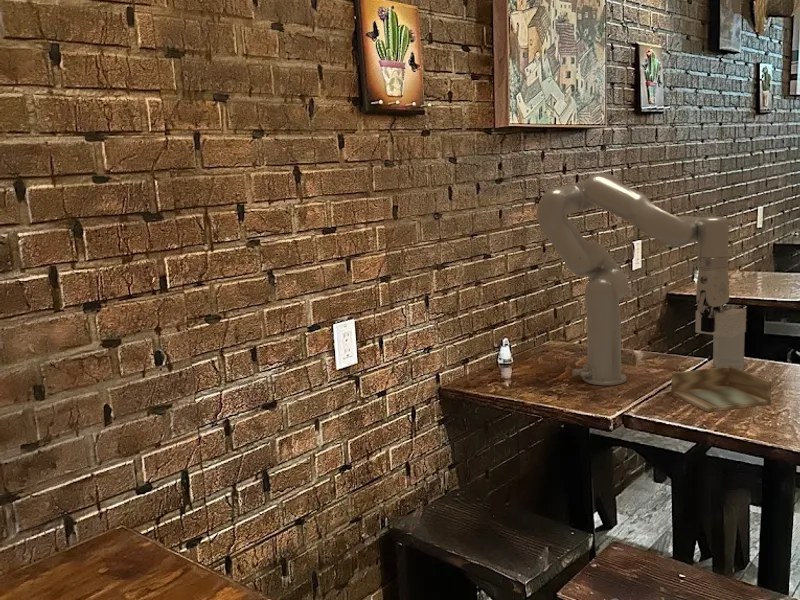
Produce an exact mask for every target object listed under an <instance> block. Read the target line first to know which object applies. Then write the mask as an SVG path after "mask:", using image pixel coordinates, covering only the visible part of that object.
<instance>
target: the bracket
mask: <svg viewBox="0 0 800 600" xmlns="http://www.w3.org/2000/svg"><path fill="white" fill-rule="evenodd" d="M706 309H707V310H708V311H709V308H706ZM712 318H714V329H713V332H712V333H710V332H702V331H701V317H700V311H699V310H698V309H697V310H695V329H694V330H695V333H697V334H705V335H713V336H714V335H720V336H728V337H734V336H736V335H739V334H741V333H743V332H745V333H746V330H747V329H746V328H747V326H746V325H747V324H746V323H747V309H743V308H730V309H728V310H723V309H722V310H713V314H712Z"/></svg>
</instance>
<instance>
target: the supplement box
mask: <svg viewBox="0 0 800 600" xmlns="http://www.w3.org/2000/svg"><path fill="white" fill-rule="evenodd" d="M745 333H746V331H745V332H743V333H741V334H739V335H736V336H734V337H728V336H720V335H713V344H712V345H713V346H712V347H713V348H712V351H713V352H712V365H713V366H714V368H719V367H727V366H731V367H734V368H737V369H739V370H742V371H745V370H744V369H745V367H744V366H745V339H746V338H745Z"/></svg>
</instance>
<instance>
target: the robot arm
mask: <svg viewBox="0 0 800 600" xmlns="http://www.w3.org/2000/svg"><path fill="white" fill-rule="evenodd" d="M595 207H599V208H600V209H602V210H604V211H607V212H609V213H611V214H613V215H615V216H616V217H619V218H621V219H622V220H625V221H626V222H628V223H630V225H632V226H633V227H635V228H637V229H639V230H640V231H641V232H642V233H645V234H647V235H648V236H650V237H651V238H654V239H656V240H658V241H661V242H662V243H665V244H667V245H669V246H671V247H676V248H677V247H684V246H686V245H688V244H690V243H697V251H696V252H697V254H696V255H697V257H696V262H697V263H696V269H697V270H698V271H697V280H696V281H697V282H696V292H695V293H696V294H695V295H696V299H695V300H696V304H697V307H696V308H697V310H699V311H700V317H701V331H702V332H710V333H712V332H713V329H714V318H712V314H713V310H723V308H724V305H725V304H727V303H729V301H730V281H729V280H730V278H729V269H728V268H729V267H728V266H729V236H730V235H729V229H730V228H729V226H730V223H729V220H728V218H727V217H725V216H720V215H719V216H714V215H713V216H704V217H703V216H702V217H701V216H692V215H691V216H690V215H682V216H681V215H680V216H676V215H674V214H672V213H669V212H667V211H665V210H664V209H663V208H660V207H658V206H656V205H655V204H654V203H652V202H651V201H650V200H649V198H648V197H647V195H645V194H644V193H643V192H641V191H638V190H636V189H634V188H632V187H630V186H628V185H627V184H624V183H621V182H620V181H619V180H618V178H617V177H616V176H614V175H613V174H610V173H604V172H603V173H595V174H592V175H590V176H589V177H588V178H587V179H585V180H583V181H579V182H575V183H572V184H569V185H563V186H555V187H552V188H550V189H548V190H547V191H546V192H544V194H543V195H542V196H541V198H540V200H539V203H538V205H537V209H536V210H537V211H536V214H537V215H536V216H537V222H538V224H539V226H540V229H541V230H542V233H544V235H545V236H546V238H547V239H548V240H549V242H550V243H551V245H552V246H553V248H554V249H555V250H556V253H557V254H558V255H559V256H560V258H561V259H562V260H563V262H564V263H565V265H566V266H567V268H568V269H569V271H571V273H572V274H574V275H575V276H579V277H585V276H586V277H587V278H588V279H589V281H588V282H587V284H586V286H585V289H584V301H585V309H586V332H587V336H586V341H587V342H586V343H587V345H586V346H587V347H586V349H587V352H586V353H587V354H586V355H587V357H586V358H587V363H585V364H583V367H581V368H575V369H571V375H572V377H576V376H580V377H581V379H582V381H584V382H585V383H588V384H591V385H595V386H617V385H620V384H624V383H625V382H626V381H627V375H626V374H625V373H623V372H622V320H621V318H622V316H621V309H620V300H622V299H623V298H624V297H625V296H626V295H627V294H628V292H629V291H628V290H629V280H628V278H627V277H626V275H625V273H624V272H623V270H622V269H621V267H620V266H619V265H618V263H617V262H616V260H615V259H614V258H613V256H612V255H611V254H610V253H609V252H608V250H607V249H606V248H605V247H604V246H603V245H602V244H600V243H598V242H597V241H591V240H589V241H588V240H586V238H584V236H583V235H582V233H581V232H580V230H579V229H578V228H577V226H576V225H575V224H574V223H573V222H572V221H571V220H570V219H569V217H568V215H571V214H574V213H578V212H581V211H584V210H588V209H591V208H595ZM707 309H709V311H708V310H707Z"/></svg>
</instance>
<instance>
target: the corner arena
mask: <svg viewBox="0 0 800 600" xmlns="http://www.w3.org/2000/svg"><path fill="white" fill-rule="evenodd" d="M671 395H672V396H675V397H676V398H678V399H680V400H682V401H684V402H685V403H688V404H690V405H692V406H694V407H696V408H698V409H700V410H703V411H704V412H706V411H707V412H706V413H713V411H715V412H722V410H723V411H729V410H730V411H731V410H735V409H743V408H752V407H758V406H759V407H760V406H765V405H766V406H767V405H771V403H772V402H771V398H772V397H771V396H772V381H771V380H768V379H765V378H763V377H760V376H757V375H754V374H752V373H749V372H747V371H745V370H739V369H737V368H734V367H731V366H727V367H719V368H716V367H711V368H704V369H695V370H687V371H680V372H679V371H678V372H672V373H671Z"/></svg>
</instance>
